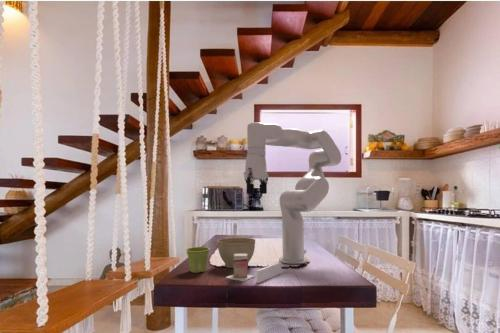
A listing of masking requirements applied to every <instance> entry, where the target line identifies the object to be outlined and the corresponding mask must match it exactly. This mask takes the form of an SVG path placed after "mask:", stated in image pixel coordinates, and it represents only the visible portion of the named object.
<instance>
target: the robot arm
mask: <svg viewBox="0 0 500 333" xmlns="http://www.w3.org/2000/svg"><path fill="white" fill-rule="evenodd" d="M246 127H247V128H246V129H247V130H246V134H247V136H246V137H247V139H246V140H247V144H246V146H247V153H246V158H245V170H244V172H243V177H244V181H245V184H246V194H247V195H254V194H255V183H254V181H255V180H256V181H257V180H258V181H259V194H261V195H262V194H268V191H267V190H268V189H267V188H268V187H267V186H268V181H269V177H270V175H269V174H270V173H269V172H267V171H268V170H267V169H268V168H267V159H266V146H270V147H283V148H284V147H286V148H287V147H289V148H296V149H302V150H314V151H312V152H311V153H310V154H309V156H308V171H307V172H306V173H305V174H304V175H303V176H302V177H301V178H300V179H299V180H298V181H297V183H295V187H294V189H289V190H285V191H283V192H282V193H281V194H280V196H279V207H280V212H281V223H282V224H281V228H282V230H281V232H282V234H281V236H282V238H281V239H282V256H281V257H279V258H278V259H279V260H278V261H279V262H281V263H282V264H291V265H297V264H298V265H299V264H306V263H308V261H309V259H308V257H306V256H305V255H306V254H307V250H306V249H305V234H304V233H305V232H304V231H305V230H304V229H305V227H304V218H303V215H302V214H301V213H309V212H312V211H314V210H315V209H316V208H317V207H318V206H319V205H320V203H322V201H324V199H325V198H326V197H327V196H328V193H329V190H330V185H329V181H328V180H327V179H326V178H325V173H324V172H323V168H324V167H325V168H326V167H334V166H335V167H336V166H338V165H339V164H340V163H341V161H342V153H341V151H340V149H339V147H338V146H337V144H336V143H335V140H334V139H333V138H332V137H331V135H330V134H329V133H328V131H326V130H324V129H319V130H314V131H313V130H311V131H308V130H303V129H299V128H285V129H284V128H282V126H280V125H279V124H277V123H264V122H257V121H256V122H255V121H254V122H250V123H247V126H246ZM315 149H316V150H315Z"/></svg>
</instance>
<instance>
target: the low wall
mask: <svg viewBox="0 0 500 333" xmlns="http://www.w3.org/2000/svg"><path fill="white" fill-rule="evenodd" d="M255 272H256V273H255V274H256V283H257V284H259V283H262V282H265V281H266V280H269V279H271V278H274V277H276V276H277V275H280V274H282V262H280V261H279V262H276V263H273V264H271V265H267V266H265V267H263V268H260V269H257V270H256V271H255Z"/></svg>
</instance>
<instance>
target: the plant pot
mask: <svg viewBox="0 0 500 333" xmlns="http://www.w3.org/2000/svg"><path fill="white" fill-rule="evenodd" d="M210 250H211V248H210V247H207V246H206V247H205V246H193V247H188V248H186V249H185V251H186V254H187V258H188V259H187V260H188V266H189V272H191V273H193V274H195V273H196V274H198V273H201V272H202V273H205V272H206V271H207V270H206V269H207V262H208V255H209V252H210Z"/></svg>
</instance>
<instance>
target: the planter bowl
mask: <svg viewBox="0 0 500 333" xmlns="http://www.w3.org/2000/svg"><path fill="white" fill-rule="evenodd" d="M216 242H217V248H218V249H217V250H218V254H219V256H220V258H221V260H222V261H223V263H224V266H225V268H228V269H234V254H247V267H249V262H250V261H251V259H253V256H254V253H255V249H256V239H255V238H251V237H250V238H249V237H226V238H220V239H218V240H217V241H216Z"/></svg>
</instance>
